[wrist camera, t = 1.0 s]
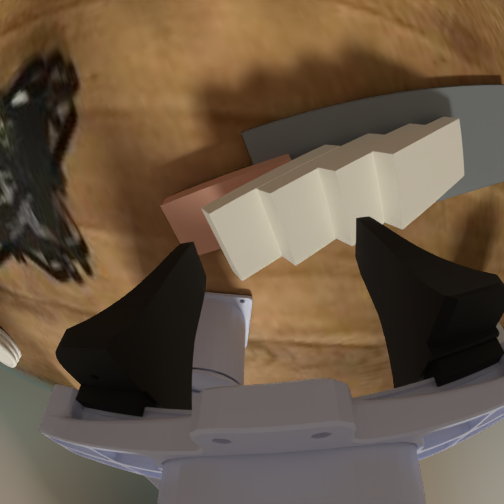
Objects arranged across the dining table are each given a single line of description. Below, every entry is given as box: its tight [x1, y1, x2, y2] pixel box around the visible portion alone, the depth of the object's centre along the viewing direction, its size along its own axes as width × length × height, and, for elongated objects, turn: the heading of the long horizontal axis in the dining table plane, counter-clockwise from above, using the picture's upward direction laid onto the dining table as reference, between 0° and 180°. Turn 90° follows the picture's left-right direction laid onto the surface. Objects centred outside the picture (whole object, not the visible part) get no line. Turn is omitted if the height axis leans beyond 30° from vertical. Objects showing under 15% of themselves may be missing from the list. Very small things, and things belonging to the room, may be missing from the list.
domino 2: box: [257, 133, 383, 266], centre depth 18 cm, size 2×5×10 cm
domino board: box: [241, 84, 504, 202], centre depth 19 cm, size 26×10×1 cm, turn 110°
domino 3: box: [317, 123, 424, 246], centre depth 17 cm, size 2×5×10 cm
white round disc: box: [0, 328, 21, 367], centre depth 36 cm, size 10×10×4 cm
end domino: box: [160, 154, 291, 255], centre depth 21 cm, size 2×5×10 cm
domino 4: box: [372, 117, 464, 229], centre depth 17 cm, size 2×5×10 cm
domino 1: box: [201, 145, 340, 281], centre depth 19 cm, size 2×5×10 cm
